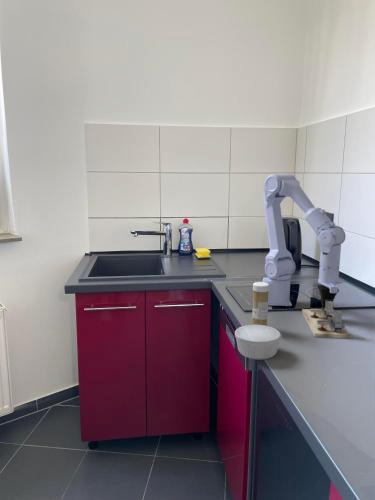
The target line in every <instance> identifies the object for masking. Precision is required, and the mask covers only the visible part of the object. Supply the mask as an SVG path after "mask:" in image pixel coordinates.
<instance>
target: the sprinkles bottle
mask: <svg viewBox="0 0 375 500" xmlns="http://www.w3.org/2000/svg"><path fill="white" fill-rule="evenodd" d="M252 291H253V294H252V295H253V296H252V299H253V300H252V312H251V313H252V319H251V320H252V321H251V322H252V323H251V325H265V326H268V315H269V313H268V311H269V305H268V292H269V284H268V283H265V282H263V281H255V282H254V283H253V284H252Z"/></svg>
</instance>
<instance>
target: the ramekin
mask: <svg viewBox="0 0 375 500" xmlns="http://www.w3.org/2000/svg"><path fill="white" fill-rule="evenodd" d="M281 335H282V334H281V332H280V331H279V330H278V329H276V328H275V327H272V326H268V325H267V326H265V325H252V324H247V325H243V326H239V327H238V328H237V329H236V330H235V331H234V337H235V338H236V344H237V350H238V352H239V354H240V355H242V356H244V357H245V358H248V359H251V360H257V361H259V360H260V361H261V360H268V359H271V358H273V357H274V356H275V355H276V354H277V352H278V348H279V344H280V340H281Z"/></svg>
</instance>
